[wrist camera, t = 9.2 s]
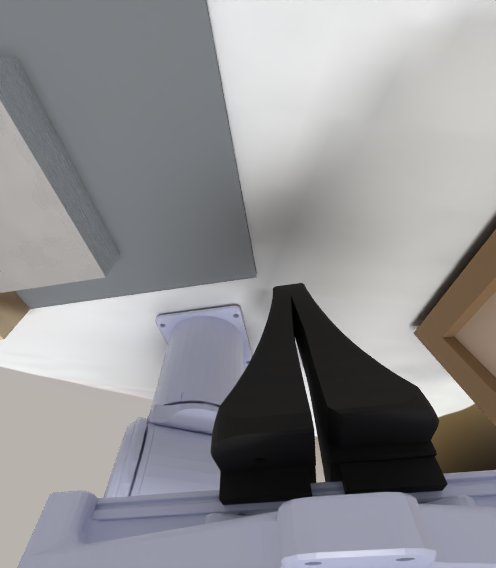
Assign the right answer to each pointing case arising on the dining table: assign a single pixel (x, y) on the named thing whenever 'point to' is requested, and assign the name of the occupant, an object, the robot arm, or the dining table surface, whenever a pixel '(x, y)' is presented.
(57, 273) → the grey flat piece
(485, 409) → the photo frame
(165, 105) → the bench mat
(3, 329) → the bench fence
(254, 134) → the dining table surface
